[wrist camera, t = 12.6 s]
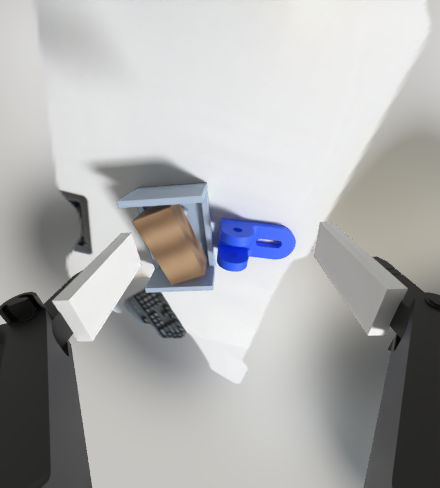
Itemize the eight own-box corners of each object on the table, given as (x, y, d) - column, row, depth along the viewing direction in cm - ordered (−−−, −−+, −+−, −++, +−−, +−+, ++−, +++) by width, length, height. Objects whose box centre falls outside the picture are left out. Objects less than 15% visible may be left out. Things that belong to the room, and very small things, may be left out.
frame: (137, 187, 45) (116, 201, 36) (206, 182, 44) (201, 195, 35) (159, 266, 55) (146, 292, 46) (215, 264, 54) (213, 290, 45)
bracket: (218, 248, 52) (216, 269, 44) (222, 217, 48) (220, 235, 40) (287, 256, 52) (298, 278, 44) (297, 227, 48) (311, 246, 40)
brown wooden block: (207, 259, 49) (204, 275, 44) (177, 268, 50) (171, 284, 45) (177, 197, 42) (169, 207, 36) (143, 210, 43) (131, 221, 38)
